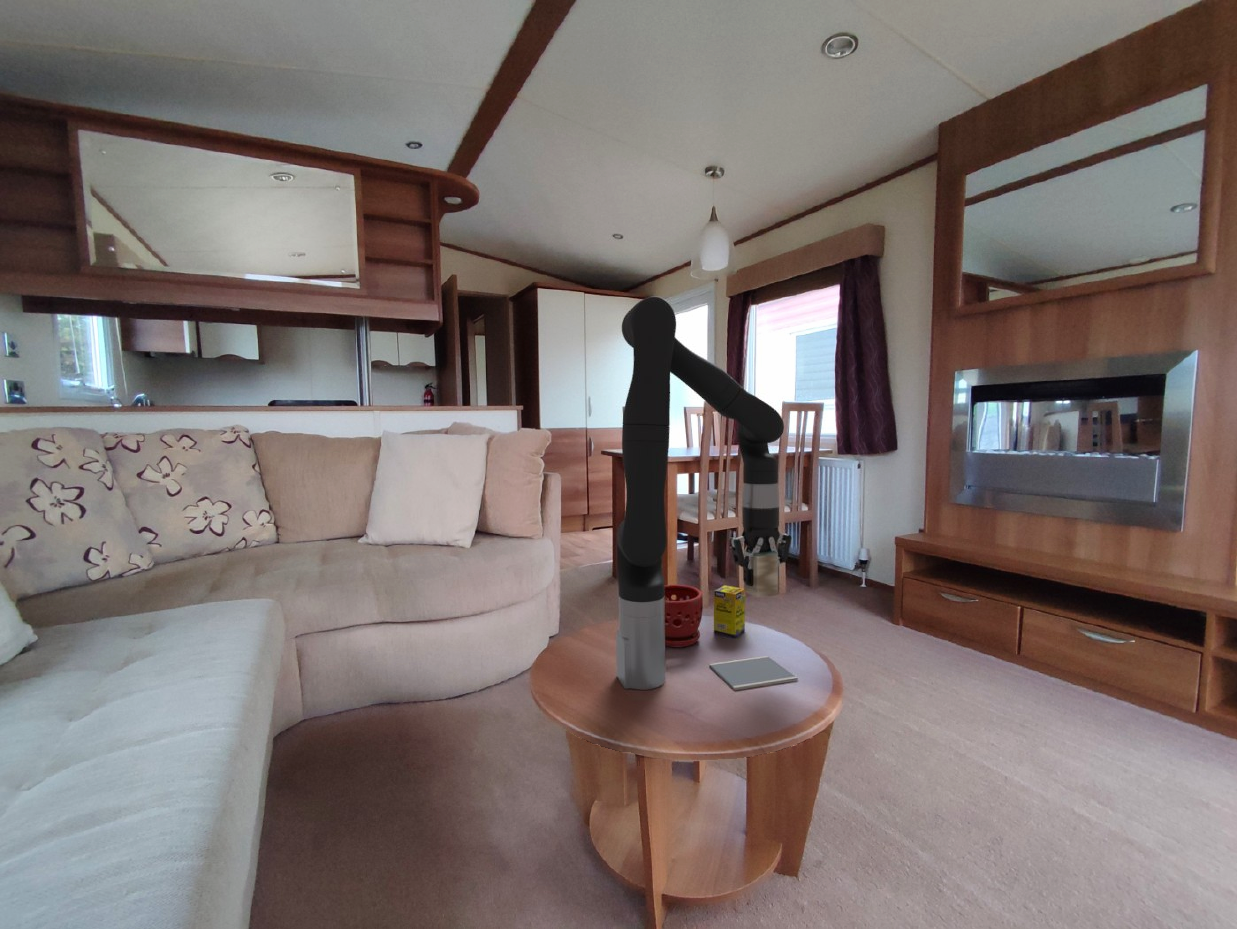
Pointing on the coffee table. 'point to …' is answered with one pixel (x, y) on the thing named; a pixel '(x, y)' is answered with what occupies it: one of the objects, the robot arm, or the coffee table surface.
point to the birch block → (764, 575)
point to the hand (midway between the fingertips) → (761, 583)
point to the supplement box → (729, 611)
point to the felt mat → (752, 672)
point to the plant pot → (682, 615)
